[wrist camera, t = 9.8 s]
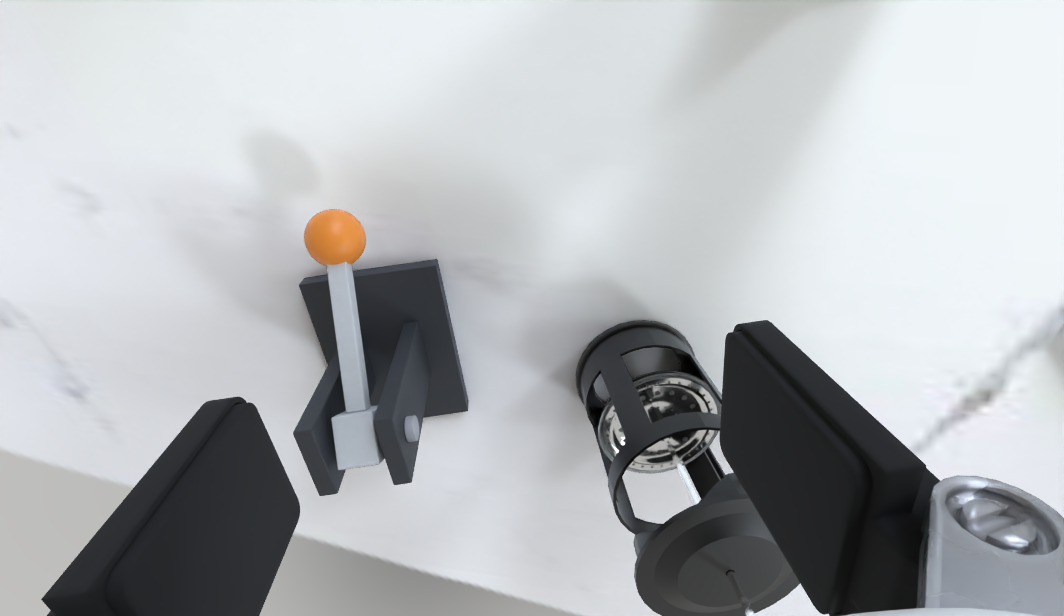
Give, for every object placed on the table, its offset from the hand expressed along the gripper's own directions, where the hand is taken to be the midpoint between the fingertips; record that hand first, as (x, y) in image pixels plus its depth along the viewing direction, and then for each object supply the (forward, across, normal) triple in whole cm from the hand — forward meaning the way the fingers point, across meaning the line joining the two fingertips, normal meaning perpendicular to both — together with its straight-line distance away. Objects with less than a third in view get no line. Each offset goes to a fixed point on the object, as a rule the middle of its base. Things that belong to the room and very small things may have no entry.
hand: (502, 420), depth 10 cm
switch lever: (+18, +9, +7) cm, 22 cm away
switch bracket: (+24, +9, +11) cm, 28 cm away
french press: (+24, -9, +17) cm, 31 cm away
